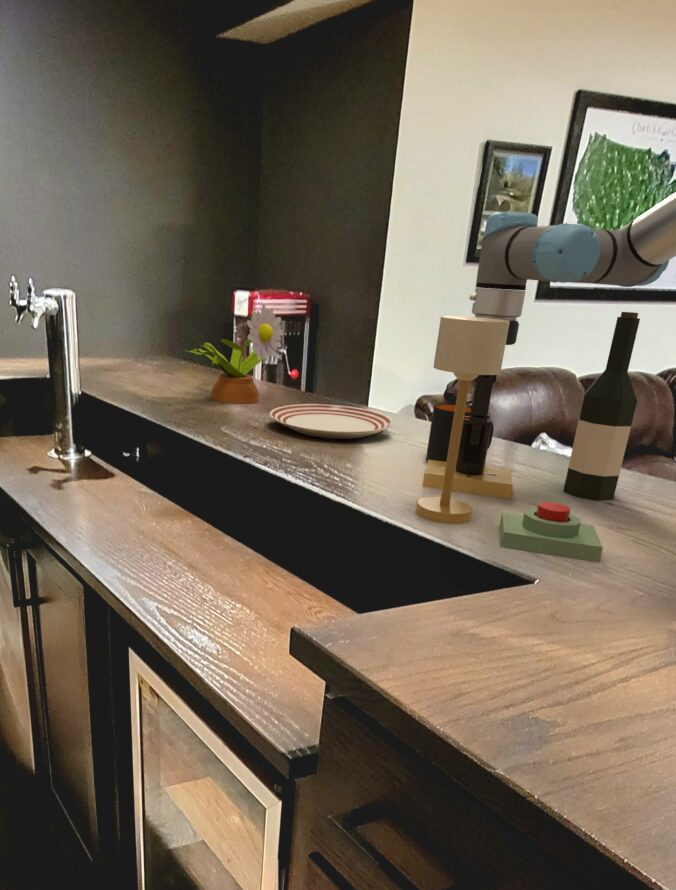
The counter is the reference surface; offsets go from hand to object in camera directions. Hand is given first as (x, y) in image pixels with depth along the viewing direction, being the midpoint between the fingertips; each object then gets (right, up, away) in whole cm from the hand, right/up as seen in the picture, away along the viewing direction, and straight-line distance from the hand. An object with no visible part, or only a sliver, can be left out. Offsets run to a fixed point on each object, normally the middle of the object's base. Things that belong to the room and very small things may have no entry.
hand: (470, 458), depth 123 cm
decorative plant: (-39, +22, +71) cm, 84 cm away
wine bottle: (+21, -6, +1) cm, 21 cm away
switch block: (+2, -14, -24) cm, 28 cm away
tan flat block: (0, -4, +2) cm, 5 cm away
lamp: (-9, -10, -15) cm, 20 cm away
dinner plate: (-18, +9, +39) cm, 44 cm away
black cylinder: (0, -2, +1) cm, 2 cm away
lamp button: (+2, -10, -25) cm, 27 cm away
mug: (+3, +1, +17) cm, 18 cm away
